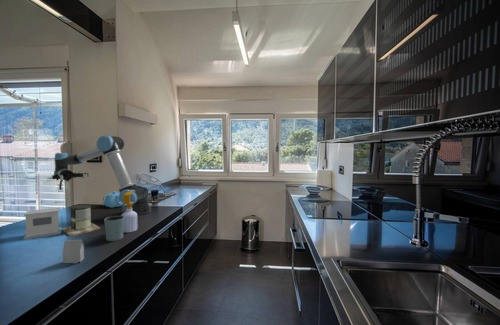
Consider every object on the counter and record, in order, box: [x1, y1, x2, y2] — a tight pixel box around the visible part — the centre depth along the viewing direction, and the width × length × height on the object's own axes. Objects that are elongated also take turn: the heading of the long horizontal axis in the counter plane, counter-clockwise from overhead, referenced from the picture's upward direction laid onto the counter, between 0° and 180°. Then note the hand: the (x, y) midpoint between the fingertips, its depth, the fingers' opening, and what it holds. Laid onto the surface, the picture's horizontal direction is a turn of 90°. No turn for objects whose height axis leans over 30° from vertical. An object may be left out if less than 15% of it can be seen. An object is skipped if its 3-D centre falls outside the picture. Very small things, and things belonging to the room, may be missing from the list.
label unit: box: [23, 207, 62, 241], centre depth 137 cm, size 16×10×14 cm, turn 127°
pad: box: [61, 222, 101, 237], centre depth 146 cm, size 16×16×1 cm
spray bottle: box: [120, 192, 138, 233], centre depth 146 cm, size 9×9×25 cm
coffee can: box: [70, 203, 92, 231], centre depth 146 cm, size 10×10×14 cm
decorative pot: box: [102, 190, 124, 209], centre depth 206 cm, size 16×16×14 cm
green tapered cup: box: [103, 215, 124, 242], centre depth 133 cm, size 10×10×12 cm
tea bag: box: [62, 239, 85, 264], centre depth 105 cm, size 4×7×10 cm, turn 105°
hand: (75, 177), depth 155 cm, fingers open, 13 cm apart
